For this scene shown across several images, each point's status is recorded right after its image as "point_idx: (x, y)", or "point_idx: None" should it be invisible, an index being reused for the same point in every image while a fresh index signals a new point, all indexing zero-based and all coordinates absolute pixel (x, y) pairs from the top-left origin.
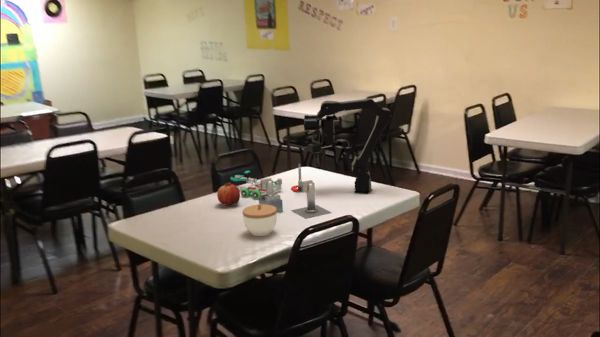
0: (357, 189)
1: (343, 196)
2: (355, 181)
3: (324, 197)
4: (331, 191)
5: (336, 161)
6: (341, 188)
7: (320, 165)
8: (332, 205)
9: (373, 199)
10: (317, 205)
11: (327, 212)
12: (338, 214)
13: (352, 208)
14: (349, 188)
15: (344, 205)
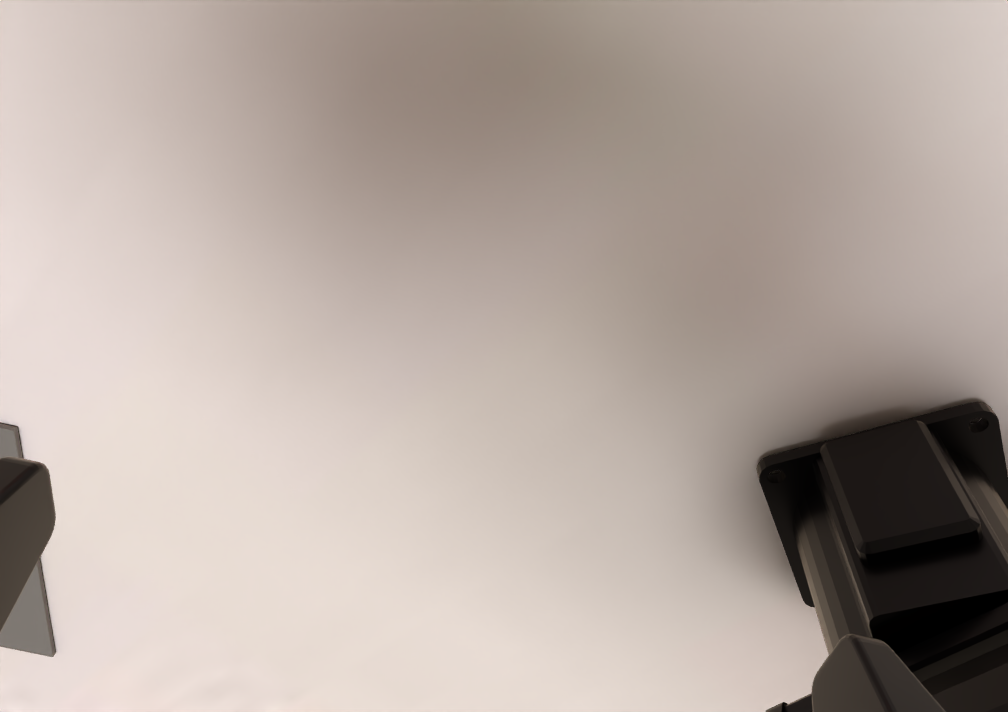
0: (817, 501)
1: (526, 443)
2: (868, 560)
3: (291, 284)
4: (604, 141)
5: (859, 683)
6: (875, 149)
7: (15, 563)
8: (185, 546)
9: (664, 706)
10: (15, 454)
11: (14, 637)
12: (93, 703)
13: (298, 704)
14: (947, 259)
15: (293, 622)
